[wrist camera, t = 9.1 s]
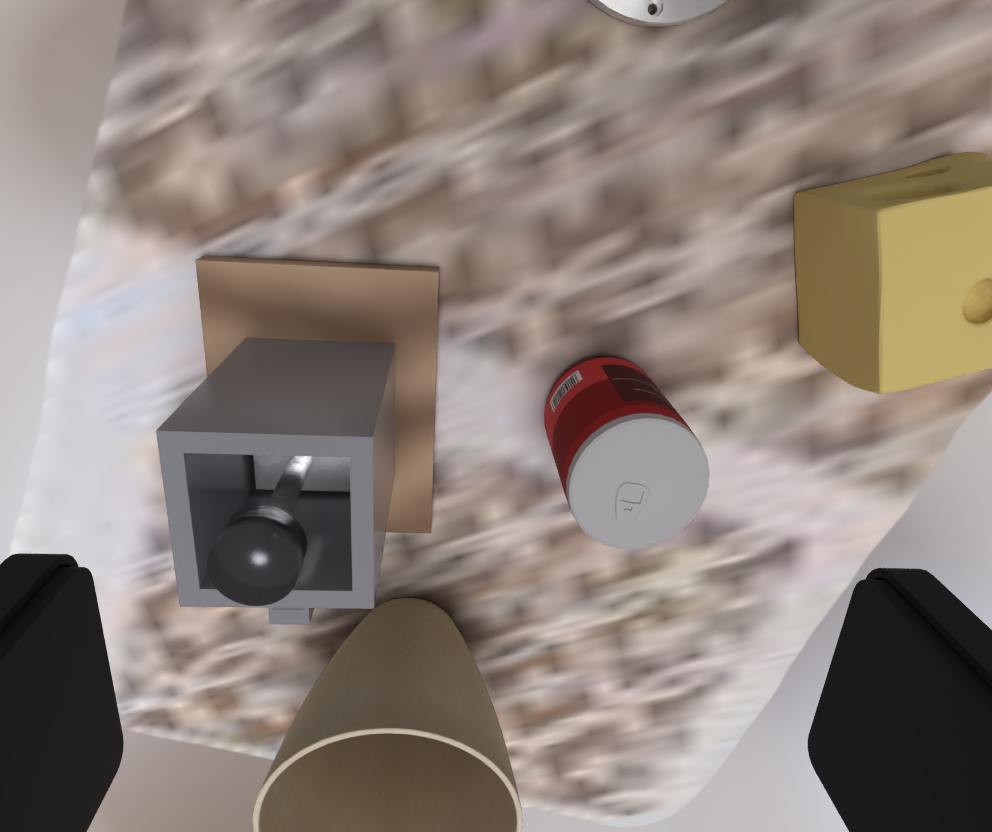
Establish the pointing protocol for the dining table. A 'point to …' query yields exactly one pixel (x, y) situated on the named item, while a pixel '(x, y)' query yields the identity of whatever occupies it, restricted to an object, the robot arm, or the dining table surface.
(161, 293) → the dining table surface
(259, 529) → the plunger
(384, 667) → the plant pot
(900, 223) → the cheese
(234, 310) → the board
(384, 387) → the grey boxy piece
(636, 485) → the canned food
